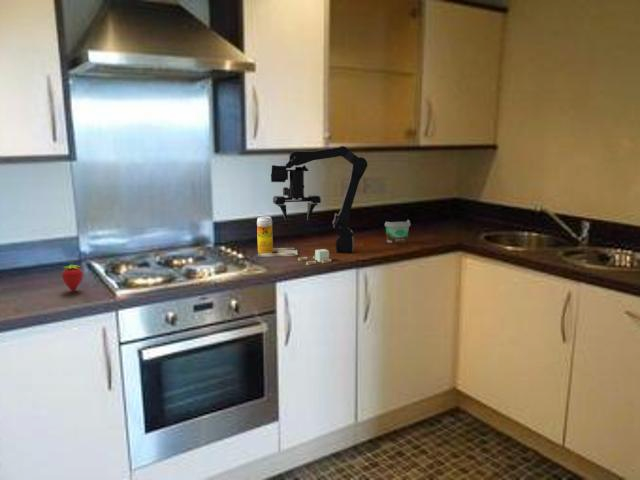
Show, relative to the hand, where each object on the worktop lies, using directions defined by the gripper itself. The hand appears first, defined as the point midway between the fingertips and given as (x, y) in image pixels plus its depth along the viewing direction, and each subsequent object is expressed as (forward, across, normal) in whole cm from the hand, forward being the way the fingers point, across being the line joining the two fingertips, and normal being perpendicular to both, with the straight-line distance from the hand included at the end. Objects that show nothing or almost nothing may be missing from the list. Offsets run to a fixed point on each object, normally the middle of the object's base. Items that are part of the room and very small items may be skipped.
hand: (297, 220), depth 226 cm
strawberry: (+14, +80, +36) cm, 89 cm away
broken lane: (+13, -3, +18) cm, 22 cm away
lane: (+13, +9, 0) cm, 16 cm away
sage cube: (+13, -6, +17) cm, 22 cm away
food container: (+13, -47, -4) cm, 49 cm away
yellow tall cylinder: (+14, +13, -1) cm, 19 cm away
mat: (+13, +4, +1) cm, 14 cm away
